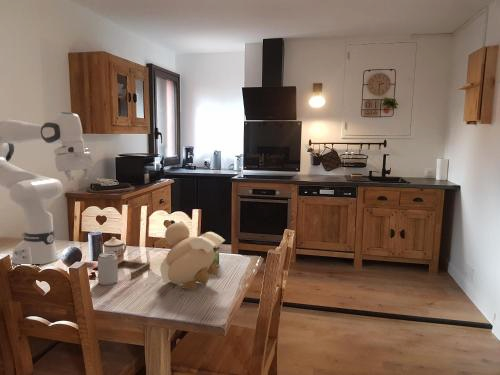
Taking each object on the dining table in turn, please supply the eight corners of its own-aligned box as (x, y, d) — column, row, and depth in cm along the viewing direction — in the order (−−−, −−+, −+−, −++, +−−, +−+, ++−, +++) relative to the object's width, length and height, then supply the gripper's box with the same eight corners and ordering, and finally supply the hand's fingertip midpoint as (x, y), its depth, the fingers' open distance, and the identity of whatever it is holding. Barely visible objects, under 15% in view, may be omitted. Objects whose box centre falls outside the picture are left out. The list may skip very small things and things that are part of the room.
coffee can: (223, 265, 177) (223, 236, 175) (204, 269, 171) (204, 239, 169) (212, 259, 185) (212, 231, 184) (193, 263, 179) (193, 234, 178)
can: (111, 286, 150) (110, 257, 148) (94, 284, 151) (93, 256, 150) (121, 279, 157) (120, 252, 156) (105, 278, 159) (104, 250, 157)
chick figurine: (204, 200, 158) (172, 210, 137) (244, 255, 153) (218, 273, 133) (160, 240, 169) (125, 254, 148) (196, 292, 165) (165, 314, 144)
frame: (104, 274, 163) (104, 268, 162) (122, 265, 175) (122, 259, 175) (133, 278, 159) (133, 272, 159) (149, 268, 171) (149, 263, 171)
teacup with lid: (113, 265, 175) (112, 241, 173) (99, 262, 179) (99, 238, 177) (132, 258, 185) (132, 235, 183) (119, 255, 189) (119, 232, 188)
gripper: (83, 149, 177) (87, 178, 179) (50, 150, 158) (55, 183, 159) (95, 147, 176) (99, 177, 177) (63, 149, 156) (68, 182, 157)
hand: (78, 180), depth 168 cm, fingers open, 8 cm apart
